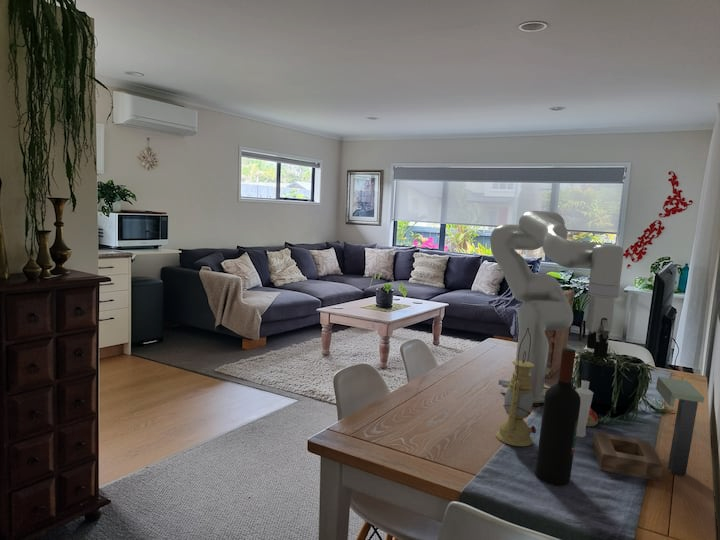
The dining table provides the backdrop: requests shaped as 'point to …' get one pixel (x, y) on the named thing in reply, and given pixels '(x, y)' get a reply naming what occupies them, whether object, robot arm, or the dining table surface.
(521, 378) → the lantern
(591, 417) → the red and yellow dome
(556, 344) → the book
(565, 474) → the wine bottle
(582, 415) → the perfume bottle
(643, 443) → the socket block
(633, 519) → the dining table surface
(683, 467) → the capped grey post
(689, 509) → the dining table surface
